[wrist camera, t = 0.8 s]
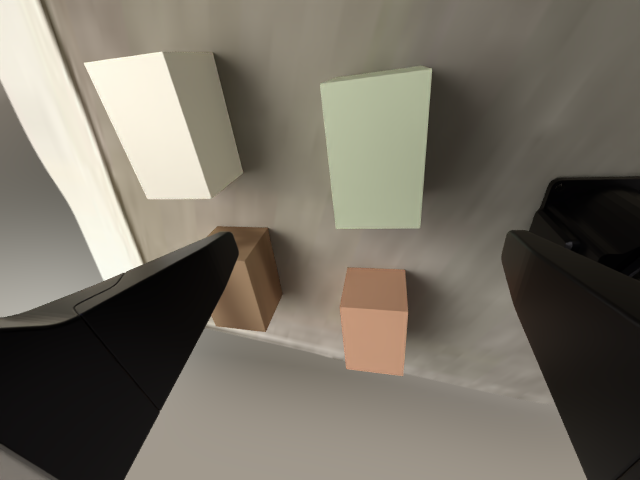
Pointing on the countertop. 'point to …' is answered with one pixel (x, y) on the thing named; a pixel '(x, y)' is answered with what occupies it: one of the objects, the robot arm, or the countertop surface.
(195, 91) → the off-white brick
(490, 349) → the countertop surface
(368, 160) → the sage brick
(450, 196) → the countertop surface
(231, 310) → the walnut brick
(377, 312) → the terracotta brick
